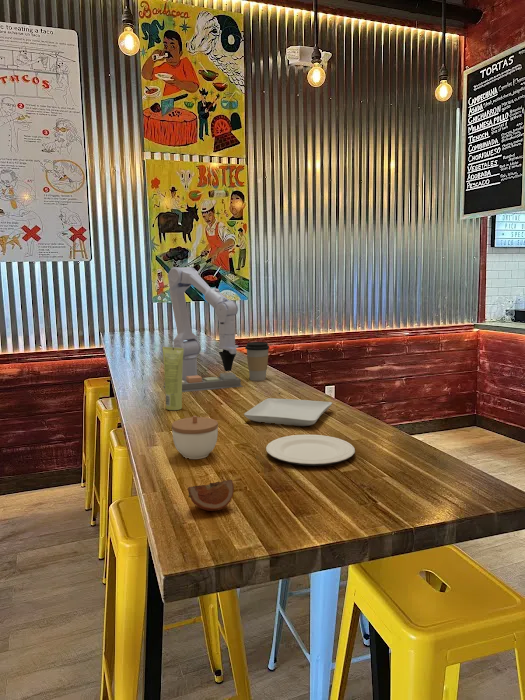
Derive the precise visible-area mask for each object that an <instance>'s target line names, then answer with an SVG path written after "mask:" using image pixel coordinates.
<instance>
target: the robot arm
mask: <svg viewBox="0 0 525 700" xmlns="http://www.w3.org/2000/svg"><path fill="white" fill-rule="evenodd" d="M167 280H168V285H169V295H170V300H171V306H172V310H173V316H174V322H175V326H176V332H177V335H176V336H175V337H174V338H173V341H172V342H173V348H184V352H183V367H182V380H186V376H195V375H198V361H197V360H198V359H197V358H198V357H199V355H200V352H201V350H202V347H201V344H200V342H199V340H198V336H197V334H195V333H193V331H192V326H191V322H190V321H191V320H190V316H189V312H188V307H187V306H188V305H187V301H186V296H185V295H186V294H185V293H186V292H187V291H186V290H188V289H189V288H190V287H191V286H193V287H194V288H196V290H198V291H199V292H200V293H202V294H203V295H204V300H205V301H206V302H207V303H208V304H209V305H210V306H211V307H212V308H213V309H214V311H215V314H216V317H217V321H218V327H219V328H218V330H219V335H218V336H219V342H218V349H219V350H222V351H219V352H218V354H219V356H220V359H221V361H222V365H223V369H224V371H225V372H231V371H232V369H233V368H232V367H233V364H234V359H235V357H237V356H236V355H237V348H239V345H238V344H236V326H235V324H236V321H235V320H236V319H235V318H236V317H235V316H237V313H238V311H239V307H238V305H237V303H236V302H235V301H234V300H229V299H228V298H227V296H224V295H223V294H222V292H220V289H219V288H216V287H213V288H212V287H211V286H209V284H208V283H207V282H206V281H205V280H204V279H203V278H202V277H201V276H200V275H199V271H197V270H196V268H194V267H193V266H187V267H185V266H183V267H182V266H181V267H177V266H173V267H171V269H170V270H169V271H168V273H167Z"/></svg>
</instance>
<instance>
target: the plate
mask: <svg viewBox="0 0 525 700" xmlns="http://www.w3.org/2000/svg"><path fill="white" fill-rule="evenodd" d="M265 451H266V453H267V454H268V455H269V456H270V457H272V458H274V459H275V460H278V461H282V462H285V463H288V464H292V465H297V466H303V467H305V466H306V467H320V466H321V467H322V466H327V465H329V466H330V465H333V464H338V463H341V462H345V461H346V460H348V459H351V458H352V457H353V456H354V454H355V453H356V450H355V447H354V445H352V444H351V443H350V442H348V441H346V440H344V439H341V438H338V437H334V436H328V435H323V434H322V435H321V434H294V435H293V434H292V435H286V436H281V437H278V438H276V439H273V440H272V441H270V442H269V443H268V444H267V445H266V447H265Z"/></svg>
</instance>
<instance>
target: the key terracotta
mask: <svg viewBox="0 0 525 700" xmlns="http://www.w3.org/2000/svg"><path fill="white" fill-rule="evenodd" d="M202 378H203V377H202V376H201V375H199V374H197V375H195V376H186V381H187V382H188V383H197V382H202Z"/></svg>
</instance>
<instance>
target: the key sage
mask: <svg viewBox="0 0 525 700" xmlns="http://www.w3.org/2000/svg"><path fill="white" fill-rule="evenodd" d="M217 377H218V376H210V377H209V376H208V377H202V378H203V380H204V381H206V382H209V381H219V379H218V378H217Z"/></svg>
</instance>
